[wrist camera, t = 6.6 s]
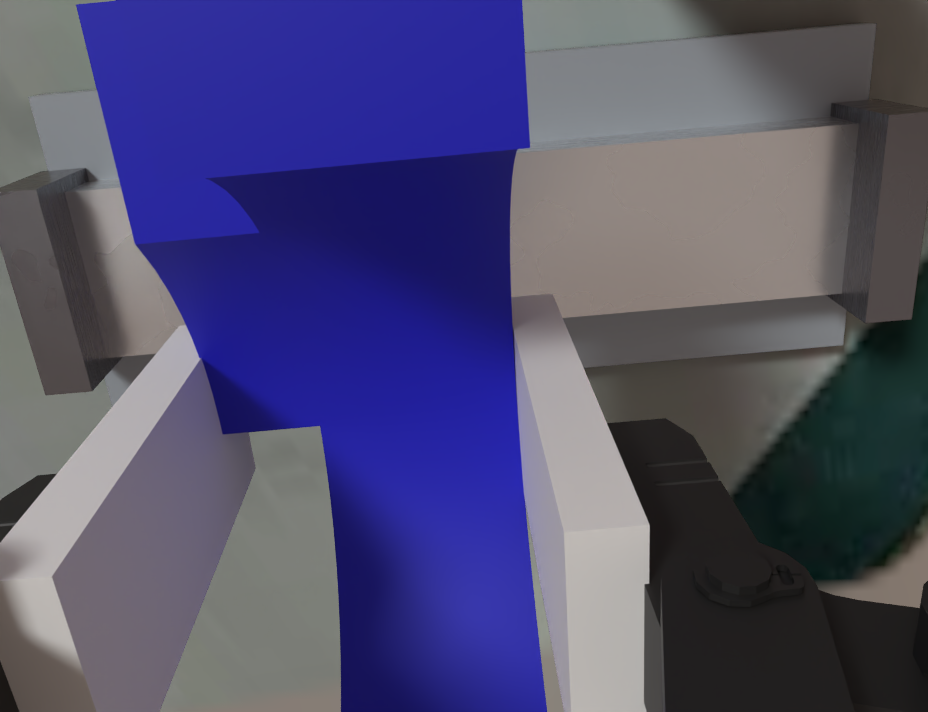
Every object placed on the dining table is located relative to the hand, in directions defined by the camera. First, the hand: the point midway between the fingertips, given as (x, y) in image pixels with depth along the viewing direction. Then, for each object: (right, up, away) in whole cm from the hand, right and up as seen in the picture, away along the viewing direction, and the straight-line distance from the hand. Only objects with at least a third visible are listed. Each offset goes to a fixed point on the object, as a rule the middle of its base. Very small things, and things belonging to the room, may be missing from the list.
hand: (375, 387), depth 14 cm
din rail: (+1, +4, +10) cm, 11 cm away
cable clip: (0, 0, 0) cm, 0 cm away
